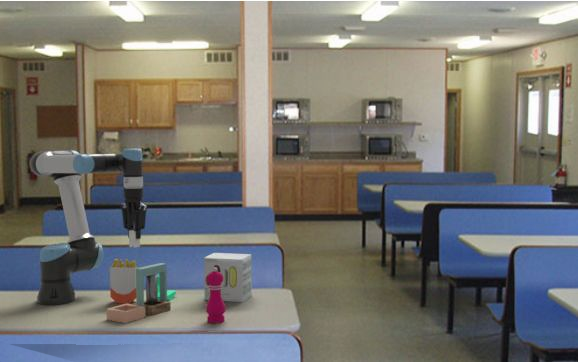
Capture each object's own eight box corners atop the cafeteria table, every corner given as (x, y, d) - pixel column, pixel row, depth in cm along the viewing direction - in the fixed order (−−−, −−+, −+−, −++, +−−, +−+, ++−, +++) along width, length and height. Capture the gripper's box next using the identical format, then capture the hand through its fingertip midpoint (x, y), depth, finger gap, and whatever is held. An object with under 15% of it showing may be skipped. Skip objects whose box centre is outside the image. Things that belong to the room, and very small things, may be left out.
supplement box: (203, 300, 279) (202, 257, 278) (214, 293, 292) (213, 252, 291) (243, 302, 275) (242, 259, 274) (252, 295, 288) (252, 253, 287)
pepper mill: (206, 318, 251) (205, 265, 250) (225, 318, 251) (225, 265, 250) (205, 324, 244) (204, 269, 242) (225, 323, 244) (224, 268, 243)
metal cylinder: (144, 311, 263) (143, 275, 262) (152, 308, 267) (151, 273, 266) (152, 312, 260) (151, 276, 260) (160, 310, 264) (159, 274, 263)
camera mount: (165, 303, 276) (165, 278, 276) (148, 302, 278) (147, 277, 277) (176, 296, 288) (176, 272, 287) (160, 295, 289) (159, 272, 289)
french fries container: (114, 300, 281) (113, 257, 280) (139, 300, 280) (138, 257, 279) (110, 302, 277) (109, 259, 276) (135, 303, 275) (134, 259, 274)
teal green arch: (136, 313, 259) (135, 268, 258) (161, 305, 270) (160, 263, 269) (142, 314, 257) (141, 269, 256) (167, 306, 268) (166, 263, 267)
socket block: (133, 311, 262) (133, 304, 262) (152, 306, 270) (152, 298, 270) (152, 315, 257) (152, 307, 256) (170, 309, 265) (170, 302, 265)
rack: (106, 319, 251) (106, 308, 251) (126, 313, 259) (126, 303, 259) (125, 323, 245) (125, 312, 245) (145, 317, 254) (145, 306, 253)
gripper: (113, 187, 267) (114, 246, 268) (139, 188, 258) (140, 249, 260) (127, 186, 273) (128, 244, 274) (153, 187, 265) (154, 247, 266)
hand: (134, 246), depth 267 cm, fingers closed
